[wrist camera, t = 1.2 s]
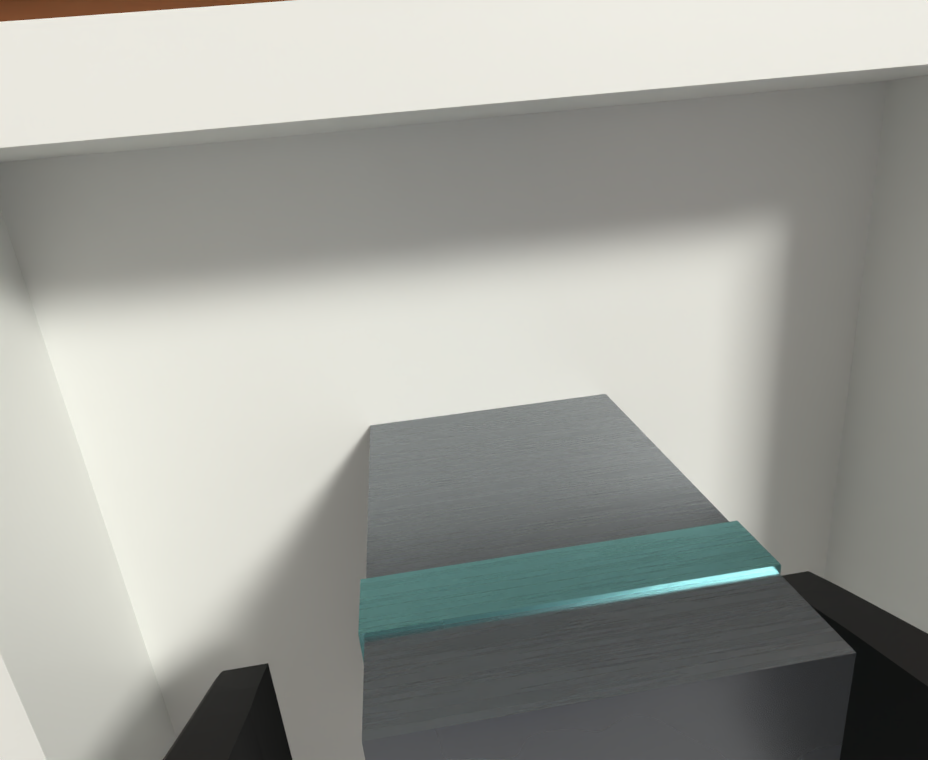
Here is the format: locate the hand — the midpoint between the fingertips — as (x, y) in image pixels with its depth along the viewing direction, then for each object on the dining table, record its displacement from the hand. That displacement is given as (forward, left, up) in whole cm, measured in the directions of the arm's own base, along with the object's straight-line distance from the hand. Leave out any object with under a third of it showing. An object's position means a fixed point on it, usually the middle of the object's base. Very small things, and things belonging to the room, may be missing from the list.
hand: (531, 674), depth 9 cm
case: (+1, +1, -3) cm, 3 cm away
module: (0, 0, -3) cm, 3 cm away
